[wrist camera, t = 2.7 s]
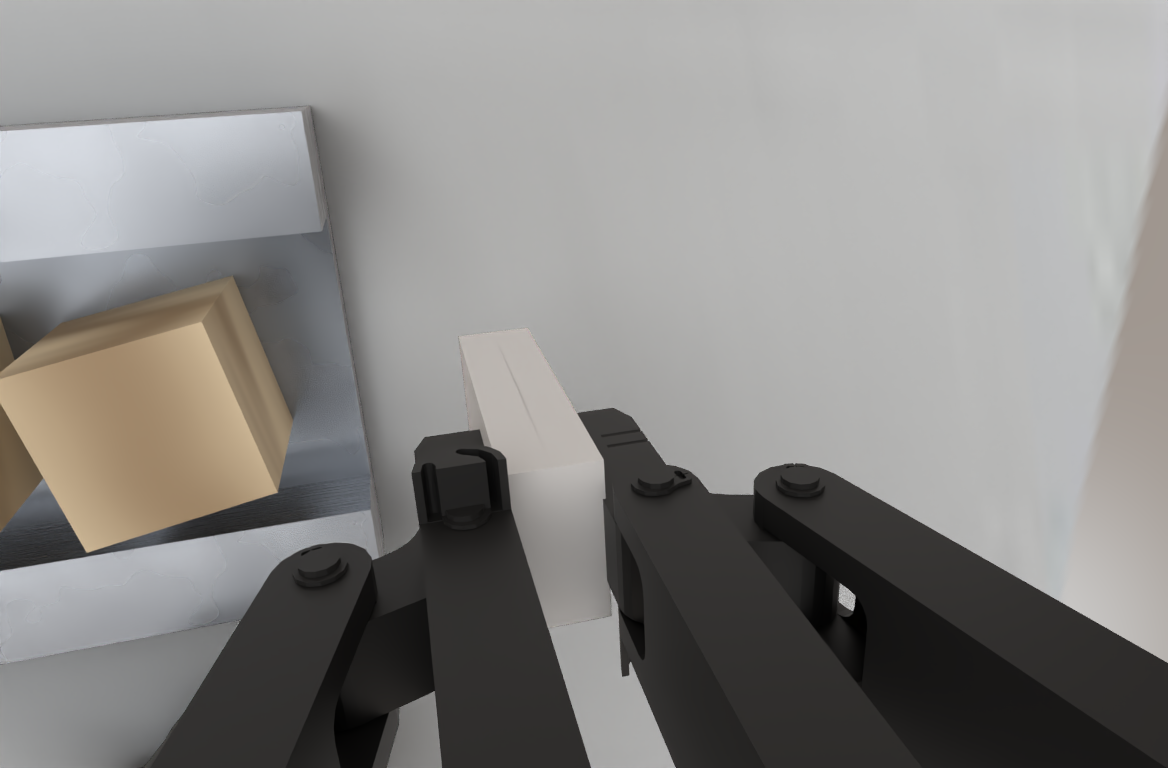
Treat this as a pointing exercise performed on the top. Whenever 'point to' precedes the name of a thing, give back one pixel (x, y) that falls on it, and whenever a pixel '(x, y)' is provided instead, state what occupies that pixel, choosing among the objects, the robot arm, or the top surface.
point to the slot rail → (160, 266)
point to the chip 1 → (13, 455)
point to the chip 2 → (151, 413)
